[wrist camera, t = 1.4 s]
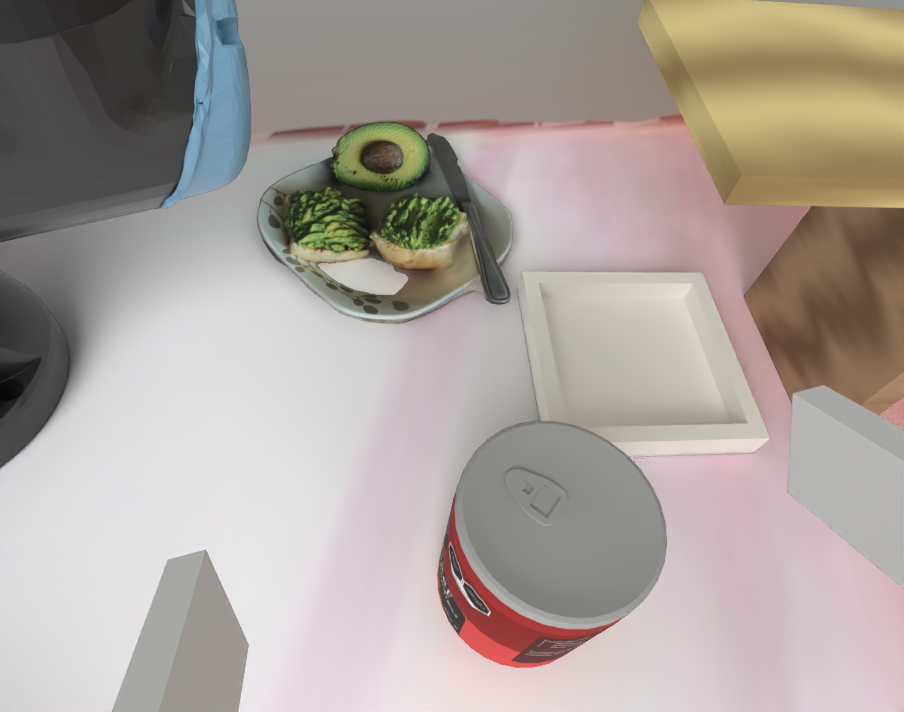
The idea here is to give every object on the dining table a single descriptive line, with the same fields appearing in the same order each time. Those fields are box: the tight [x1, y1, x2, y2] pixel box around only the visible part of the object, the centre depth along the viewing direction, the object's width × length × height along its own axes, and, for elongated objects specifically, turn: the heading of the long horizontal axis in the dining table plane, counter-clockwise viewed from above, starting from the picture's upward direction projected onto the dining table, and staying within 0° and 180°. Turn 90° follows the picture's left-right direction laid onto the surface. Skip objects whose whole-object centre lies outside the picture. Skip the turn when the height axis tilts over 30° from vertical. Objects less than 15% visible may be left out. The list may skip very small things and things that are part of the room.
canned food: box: [437, 421, 667, 668], centre depth 26 cm, size 8×8×11 cm
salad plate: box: [257, 122, 513, 324], centre depth 43 cm, size 19×18×5 cm
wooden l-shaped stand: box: [637, 0, 904, 415], centre depth 32 cm, size 12×17×20 cm
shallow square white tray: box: [517, 271, 770, 457], centre depth 39 cm, size 13×13×2 cm
